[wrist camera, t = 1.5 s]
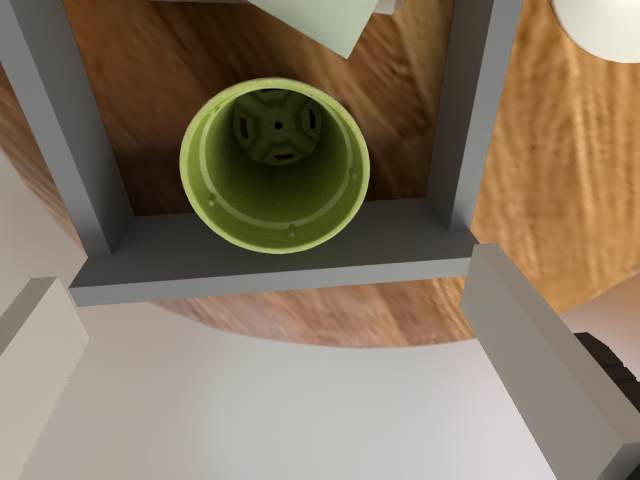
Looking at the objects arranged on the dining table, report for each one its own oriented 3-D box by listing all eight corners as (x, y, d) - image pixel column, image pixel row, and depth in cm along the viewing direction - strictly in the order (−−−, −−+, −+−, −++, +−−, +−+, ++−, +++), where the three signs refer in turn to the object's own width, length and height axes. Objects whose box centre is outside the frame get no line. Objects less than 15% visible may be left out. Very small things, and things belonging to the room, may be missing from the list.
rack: (-8, -109, 19) (-157, -151, 12) (499, -115, 21) (603, -155, 14) (120, 234, 30) (77, 306, 24) (441, 212, 32) (484, 274, 25)
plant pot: (228, 195, 29) (213, 267, 22) (185, 61, 24) (147, 99, 17) (351, 173, 29) (376, 238, 22) (335, 34, 24) (361, 60, 17)
